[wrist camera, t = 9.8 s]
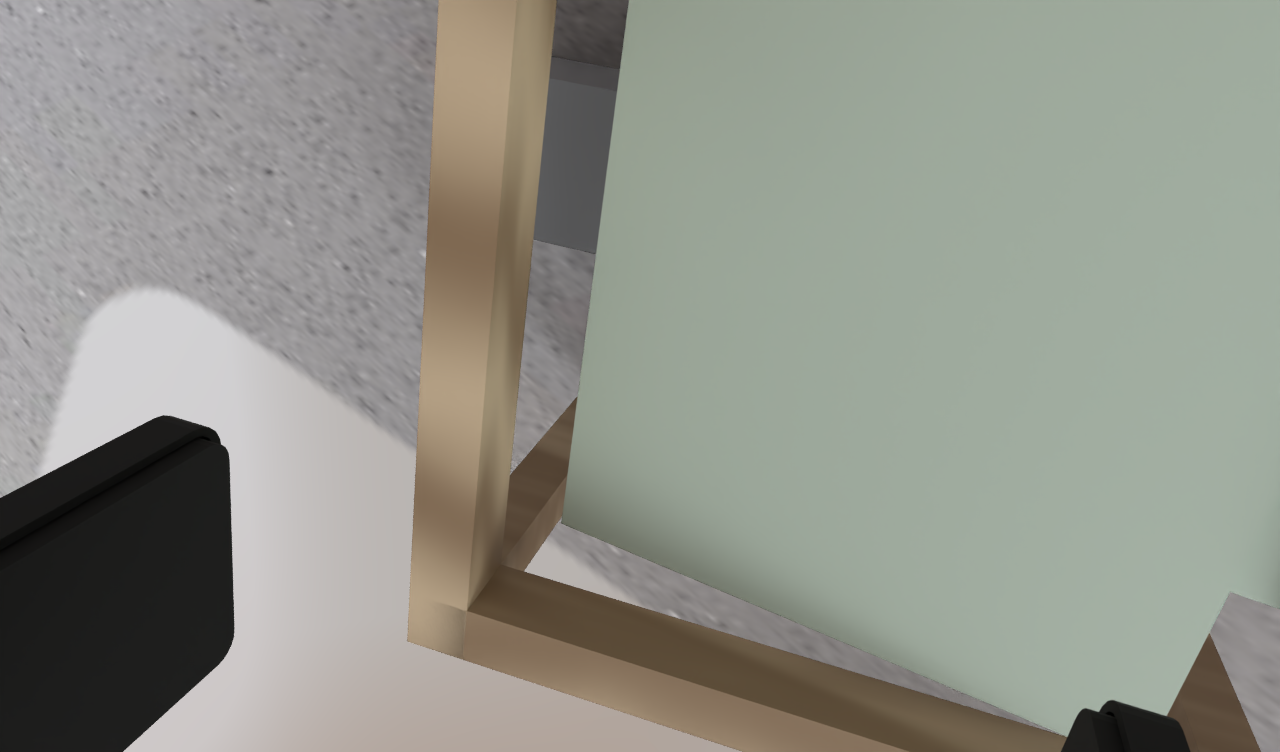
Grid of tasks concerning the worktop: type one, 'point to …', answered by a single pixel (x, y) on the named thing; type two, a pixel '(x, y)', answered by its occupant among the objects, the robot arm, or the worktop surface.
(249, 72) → the worktop surface
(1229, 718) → the frame
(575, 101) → the stone
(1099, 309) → the trapdoor
